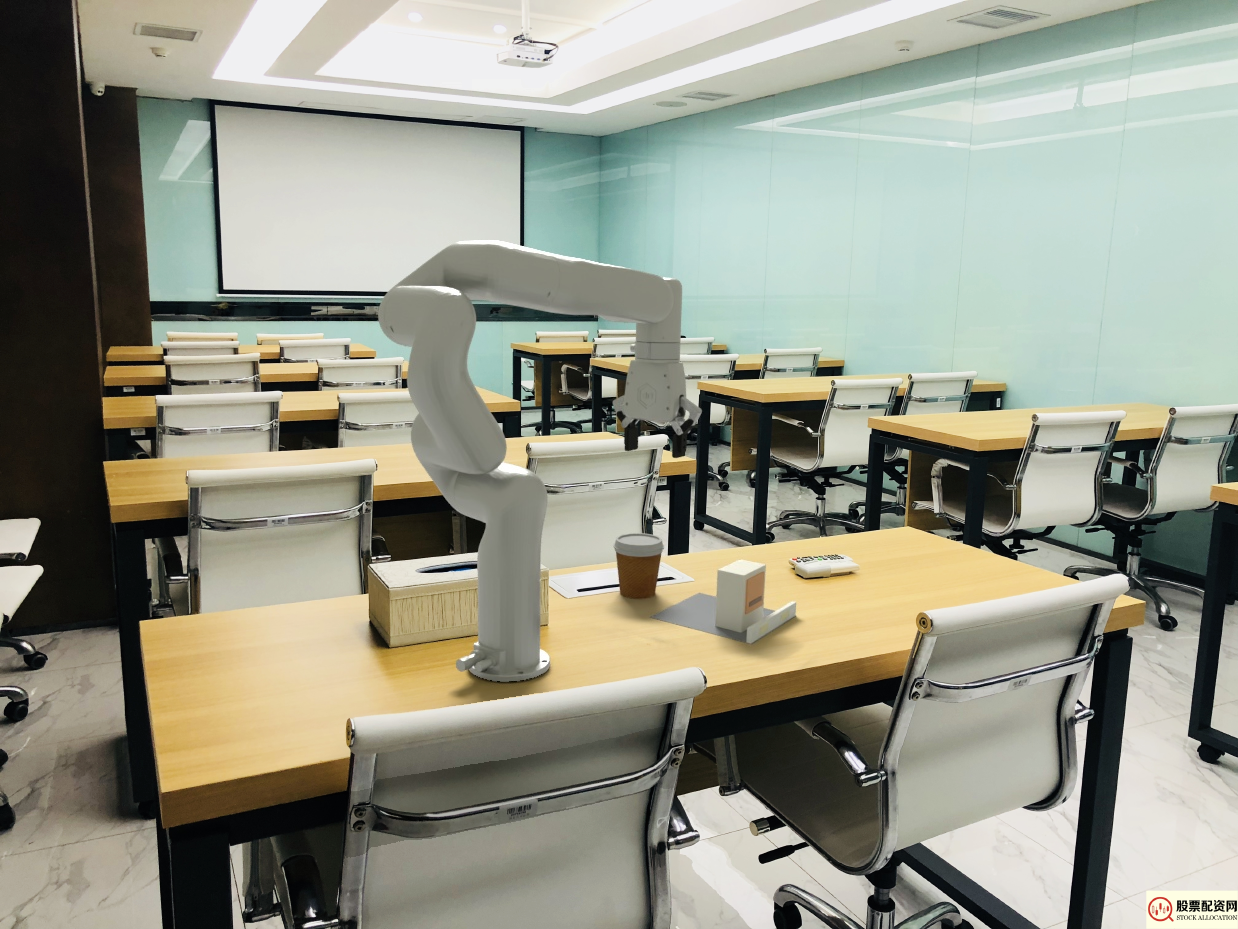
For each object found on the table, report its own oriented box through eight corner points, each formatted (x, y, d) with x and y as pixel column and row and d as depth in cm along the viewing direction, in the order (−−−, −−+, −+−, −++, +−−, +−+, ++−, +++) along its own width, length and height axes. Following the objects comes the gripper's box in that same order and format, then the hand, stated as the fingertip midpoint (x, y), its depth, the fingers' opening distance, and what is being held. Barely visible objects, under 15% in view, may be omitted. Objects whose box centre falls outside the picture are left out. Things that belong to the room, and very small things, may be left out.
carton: (715, 626, 158) (717, 569, 156) (737, 613, 165) (740, 559, 163) (743, 633, 155) (746, 575, 153) (765, 620, 162) (767, 565, 160)
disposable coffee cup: (643, 612, 168) (644, 549, 166) (601, 601, 174) (603, 539, 172) (672, 599, 176) (674, 538, 174) (632, 589, 181) (633, 529, 179)
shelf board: (751, 652, 151) (752, 629, 150) (649, 625, 162) (649, 603, 161) (796, 623, 164) (797, 602, 164) (698, 600, 176) (699, 580, 175)
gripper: (602, 350, 157) (600, 450, 160) (690, 356, 147) (686, 462, 150) (628, 349, 163) (625, 445, 166) (713, 354, 153) (709, 456, 156)
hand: (654, 453), depth 158 cm, fingers open, 9 cm apart
